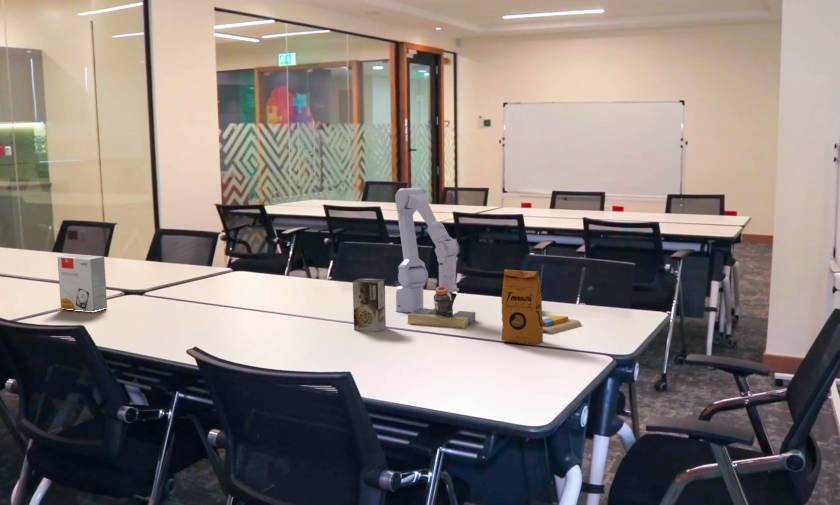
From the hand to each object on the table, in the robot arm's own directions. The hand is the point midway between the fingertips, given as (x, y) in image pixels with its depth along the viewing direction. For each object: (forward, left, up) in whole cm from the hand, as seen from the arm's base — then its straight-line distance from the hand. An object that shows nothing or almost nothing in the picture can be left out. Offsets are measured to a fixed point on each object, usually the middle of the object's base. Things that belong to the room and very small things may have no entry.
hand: (447, 314), depth 275 cm
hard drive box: (-131, -29, -2) cm, 134 cm away
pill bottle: (0, -3, -1) cm, 3 cm away
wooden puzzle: (+33, +1, -2) cm, 33 cm away
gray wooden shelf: (0, -6, -1) cm, 6 cm away
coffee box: (-19, -22, -2) cm, 29 cm away
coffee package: (+32, -23, -2) cm, 40 cm away
